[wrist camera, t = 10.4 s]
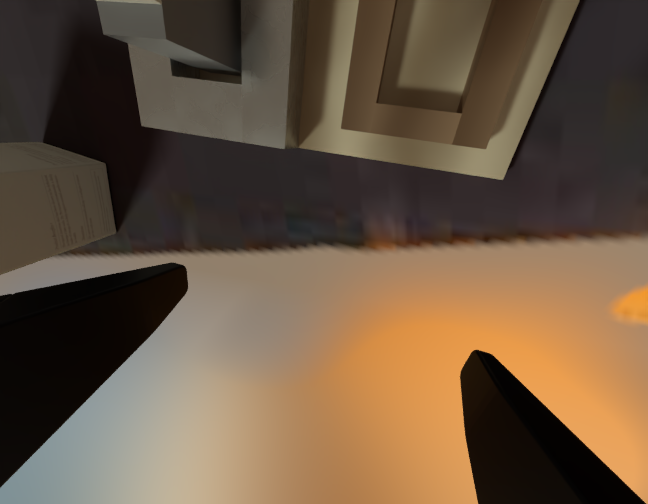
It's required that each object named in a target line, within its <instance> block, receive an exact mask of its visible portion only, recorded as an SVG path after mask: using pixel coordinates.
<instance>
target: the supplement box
mask: <svg viewBox="0 0 648 504" xmlns="http://www.w3.org/2000/svg"><path fill="white" fill-rule="evenodd" d="M115 233H116V227H115V221H114V215H113V208H112V202H111V196H110V189H109V182H108V176H107V170H106V164H105V163H103V162H100V161H97V160H94V159H91V158H88V157H85V156H82V155H79V154H76V153H73V152H70V151H67V150H64V149H61V148H58V147H55V146H52V145H49V144H45V143H42V142H24V143H0V275H1V274H4V273H7V272H9V271H12V270H15V269H18V268H21V267H24V266H26V265H29V264H32V263H35V262H37V261H41V260H43V259H46V258H49V257H52V256H54V255H57V254H60V253H63V252H66V251H68V250H71V249H74V248H77V247H80V246H82V245H85V244H88V243H90V242H93V241H96V240H98V239H101V238H104V237H107V236H109V235H112V234H115Z"/></svg>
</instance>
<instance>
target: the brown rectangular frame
mask: <svg viewBox="0 0 648 504" xmlns="http://www.w3.org/2000/svg"><path fill="white" fill-rule="evenodd" d="M397 1H398V0H359V3H358V10H357V17H356V24H355V32H354V39H353V46H352V53H351V60H350V67H349V74H348V81H347V88H346V95H345V102H344V109H343V116H342V123H341V129H345V130H352V131H359V132H366V133H373V134H380V135H387V136H394V137H401V138H408V139H415V140H422V141H429V142H436V143H443V144H450V145H457V146H464V147H471V148H479V149H486V148H487V145H488V143H489V140H490V137H491V135H492V132H493V129H494V127H495V124H496V122H497V119H498V116H499V114H500V111H501V108H502V106H503V103H504V101H505V98H506V95H507V93H508V90H509V87H510V85H511V82H512V79H513V77H514V74H515V72H516V69H517V66H518V64H519V61H520V58H521V56H522V53H523V51H524V48H525V45H526V43H527V40H528V37H529V35H530V32H531V29H532V27H533V24H534V22H535V19H536V16H537V14H538V11H539V8H540V6H541V3H542V1H543V0H492V1H491V4H490V7H489V10H488V13H487V17H486V20H485V23H484V26H483V29H482V33H481V36H480V39H479V42H478V45H477V49H476V52H475V55H474V58H473V61H472V64H471V68H470V71H469V74H468V77H467V80H466V84H465V87H464V90H463V93H462V96H461V99H460V103H459V106H458V109H457V112H456V113H453V112H445V111H436V110H428V109H420V108H412V107H404V106H396V105H388V104H379V103H378V100H379V94H380V89H381V84H382V79H383V74H384V68H385V63H386V58H387V53H388V47H389V42H390V37H391V32H392V27H393V21H394V16H395V11H396V6H397Z"/></svg>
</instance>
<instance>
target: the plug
mask: <svg viewBox="0 0 648 504" xmlns="http://www.w3.org/2000/svg"><path fill="white" fill-rule="evenodd" d="M96 1H97V6H98V10H99V15H100V20H101V25H102V30H103V34H104V35H107V36H110V37H112V38H115V39H118V40H121V41H123V42H126V43H129V44H132V45H134V46H137V47H140V48H143V49H146V50H148V51H151V52H154V53H157V54H159V55H162V56H165V57H168V58H170V59H173V60H176V61H179V62H182V63H184V64H187V65H190V66H193V67H195V68H198V69H201V70H204V71H206V72H209V73H217V74H226V75H236V76H242V53H241V0H96Z"/></svg>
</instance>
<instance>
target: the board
mask: <svg viewBox="0 0 648 504" xmlns="http://www.w3.org/2000/svg"><path fill="white" fill-rule="evenodd" d="M491 1H492V0H398V1H397V6H396V11H395V16H394V21H393V27H392V32H391V37H390V42H389V47H388V53H387V58H386V63H385V68H384V74H383V79H382V84H381V89H380V94H379V100H378V103H379V104H388V105H396V106H404V107H412V108H420V109H428V110H436V111H445V112H453V113H456V112H457V109H458V106H459V103H460V99H461V96H462V93H463V90H464V87H465V84H466V80H467V77H468V74H469V71H470V68H471V64H472V61H473V58H474V55H475V52H476V49H477V45H478V42H479V39H480V36H481V33H482V29H483V26H484V23H485V20H486V17H487V13H488V10H489V7H490V4H491ZM579 1H580V0H543V1H542V3H541V6H540V8H539V11H538V14H537V16H536V19H535V22H534V24H533V27H532V29H531V32H530V35H529V37H528V40H527V43H526V45H525V48H524V51H523V53H522V56H521V58H520V61H519V64H518V66H517V69H516V72H515V74H514V77H513V79H512V82H511V85H510V87H509V90H508V93H507V95H506V98H505V101H504V103H503V106H502V108H501V111H500V114H499V116H498V119H497V122H496V124H495V127H494V129H493V132H492V135H491V137H490V140H489V143H488V145H487V148H486V149H479V148H471V147H464V146H457V145H450V144H443V143H436V142H429V141H422V140H415V139H408V138H401V137H394V136H387V135H380V134H373V133H366V132H359V131H352V130H345V129H341V123H342V116H343V109H344V102H345V95H346V88H347V81H348V74H349V67H350V60H351V53H352V46H353V39H354V32H355V24H356V17H357V10H358V3H359V0H310V3H309V16H308V29H307V42H306V55H305V68H304V81H303V93H302V106H301V119H300V132H299V145H298V148H304V149H310V150H316V151H323V152H329V153H335V154H342V155H348V156H354V157H361V158H367V159H373V160H380V161H386V162H392V163H399V164H405V165H411V166H418V167H424V168H430V169H437V170H443V171H449V172H456V173H462V174H468V175H475V176H481V177H487V178H494V179H500V180H503V178H504V176H505V174H506V171H507V169H508V167H509V164H510V162H511V160H512V157H513V155H514V153H515V150H516V148H517V146H518V143H519V141H520V139H521V136H522V134H523V132H524V129H525V127H526V125H527V122H528V120H529V118H530V115H531V113H532V111H533V108H534V106H535V104H536V101H537V99H538V97H539V94H540V92H541V90H542V87H543V85H544V83H545V80H546V78H547V76H548V73H549V71H550V69H551V66H552V64H553V62H554V59H555V57H556V55H557V52H558V50H559V48H560V45H561V43H562V41H563V38H564V36H565V33H566V31H567V29H568V26H569V24H570V22H571V19H572V17H573V15H574V12H575V10H576V8H577V5H578V3H579ZM199 74H200V80H209V81H217V82H225V83H233V84H242V76H236V75H226V74H217V73H209V72H206V71H204V70H201V69H199Z"/></svg>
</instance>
